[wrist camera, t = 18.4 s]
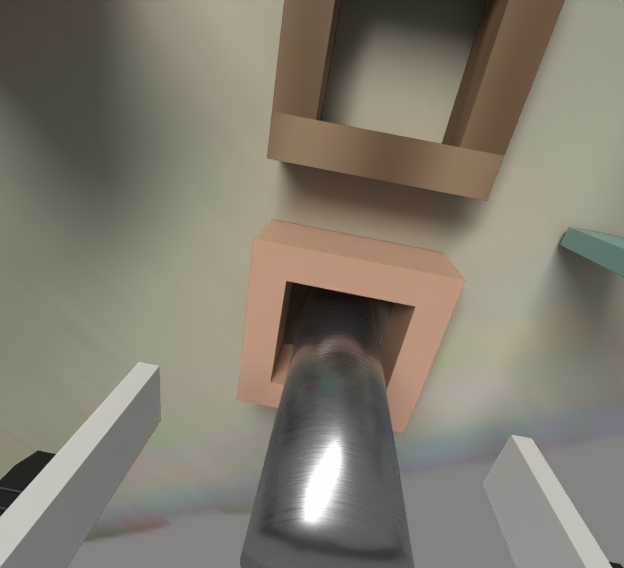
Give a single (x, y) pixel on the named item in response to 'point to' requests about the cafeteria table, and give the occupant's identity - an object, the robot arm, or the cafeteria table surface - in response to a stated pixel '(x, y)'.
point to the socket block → (397, 149)
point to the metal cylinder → (331, 451)
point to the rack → (355, 280)
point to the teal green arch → (597, 248)
